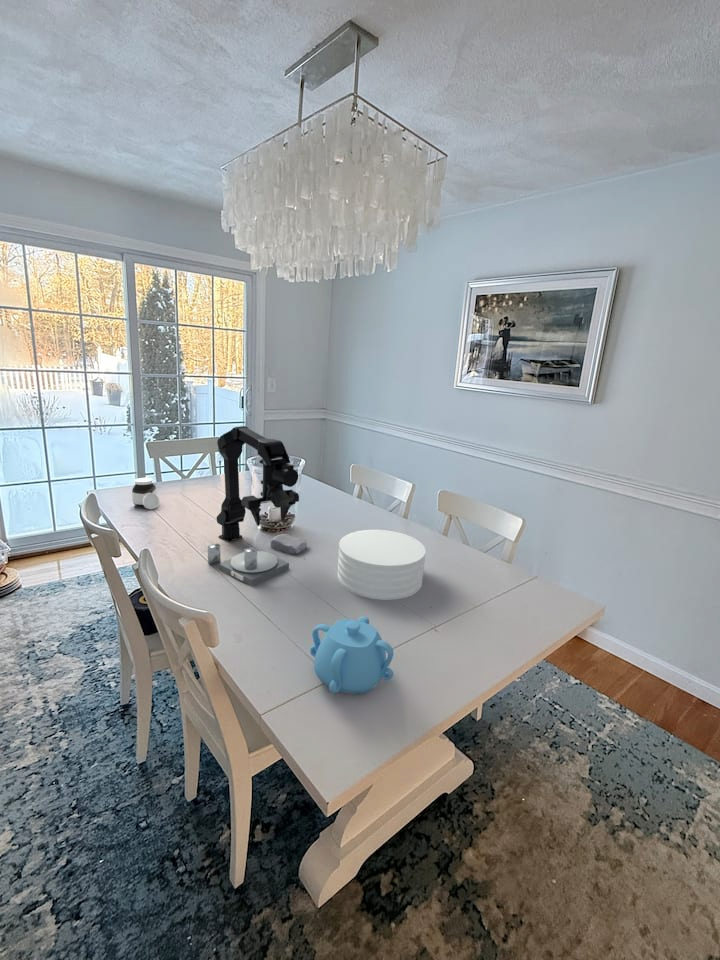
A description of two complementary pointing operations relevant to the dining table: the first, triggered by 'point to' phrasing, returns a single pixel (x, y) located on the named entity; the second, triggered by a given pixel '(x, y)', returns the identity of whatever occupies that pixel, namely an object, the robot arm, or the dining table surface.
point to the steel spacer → (214, 554)
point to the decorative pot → (351, 656)
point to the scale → (265, 569)
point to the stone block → (288, 544)
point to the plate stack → (381, 564)
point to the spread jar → (145, 493)
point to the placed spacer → (250, 558)
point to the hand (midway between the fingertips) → (270, 523)
